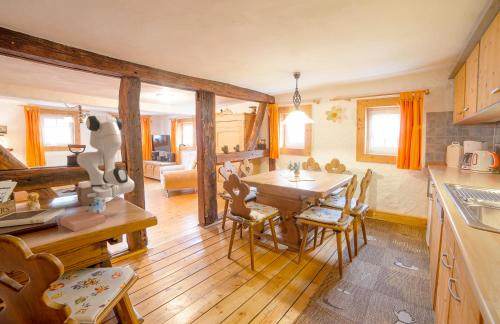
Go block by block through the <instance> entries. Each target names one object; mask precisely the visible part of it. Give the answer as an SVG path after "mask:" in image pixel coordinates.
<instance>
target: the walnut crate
mask: <svg viewBox="0 0 500 324" xmlns="http://www.w3.org/2000/svg"><path fill="white" fill-rule="evenodd" d="M76 193H77V203H78V205H79V206H82V207H85V205H89V204H93V203H94V197H86V194H89V193H93V187H92V186H91V187H87V188H79V186H78V187H76Z"/></svg>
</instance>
